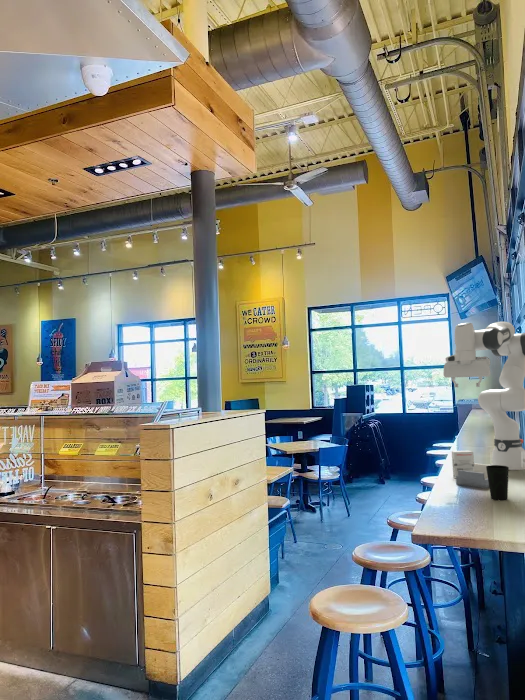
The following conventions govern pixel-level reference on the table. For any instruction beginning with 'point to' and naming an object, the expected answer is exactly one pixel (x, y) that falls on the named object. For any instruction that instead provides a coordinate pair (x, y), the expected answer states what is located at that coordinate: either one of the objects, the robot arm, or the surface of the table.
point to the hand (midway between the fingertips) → (467, 387)
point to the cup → (498, 481)
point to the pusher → (481, 469)
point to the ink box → (462, 461)
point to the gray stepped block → (472, 479)
